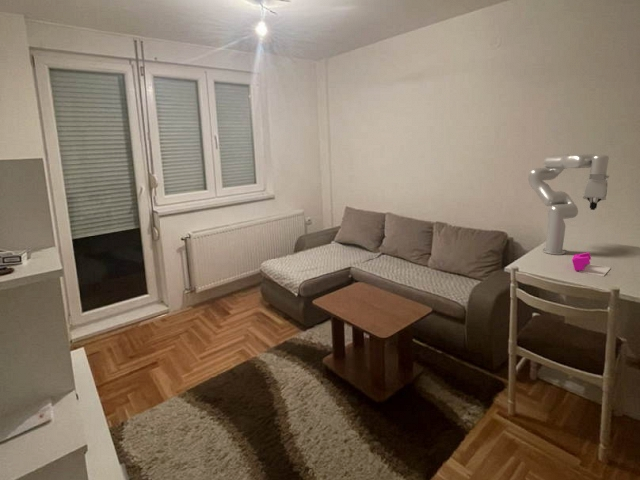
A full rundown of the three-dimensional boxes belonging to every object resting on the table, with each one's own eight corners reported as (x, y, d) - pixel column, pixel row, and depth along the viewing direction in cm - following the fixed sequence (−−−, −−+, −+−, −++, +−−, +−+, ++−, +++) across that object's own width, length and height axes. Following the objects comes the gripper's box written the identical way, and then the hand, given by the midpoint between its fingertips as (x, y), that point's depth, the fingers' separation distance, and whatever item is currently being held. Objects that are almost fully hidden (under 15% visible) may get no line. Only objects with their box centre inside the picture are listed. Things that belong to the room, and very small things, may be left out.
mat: (586, 264, 222) (586, 262, 221) (610, 268, 214) (611, 266, 213) (578, 271, 210) (578, 269, 209) (603, 276, 202) (603, 274, 201)
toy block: (575, 270, 210) (591, 268, 205) (572, 259, 210) (588, 257, 205) (577, 265, 222) (592, 262, 217) (574, 254, 222) (589, 252, 217)
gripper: (615, 177, 210) (610, 209, 214) (583, 176, 220) (579, 207, 225) (612, 178, 205) (607, 211, 209) (580, 177, 215) (575, 209, 220)
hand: (592, 209), depth 217 cm, fingers closed
